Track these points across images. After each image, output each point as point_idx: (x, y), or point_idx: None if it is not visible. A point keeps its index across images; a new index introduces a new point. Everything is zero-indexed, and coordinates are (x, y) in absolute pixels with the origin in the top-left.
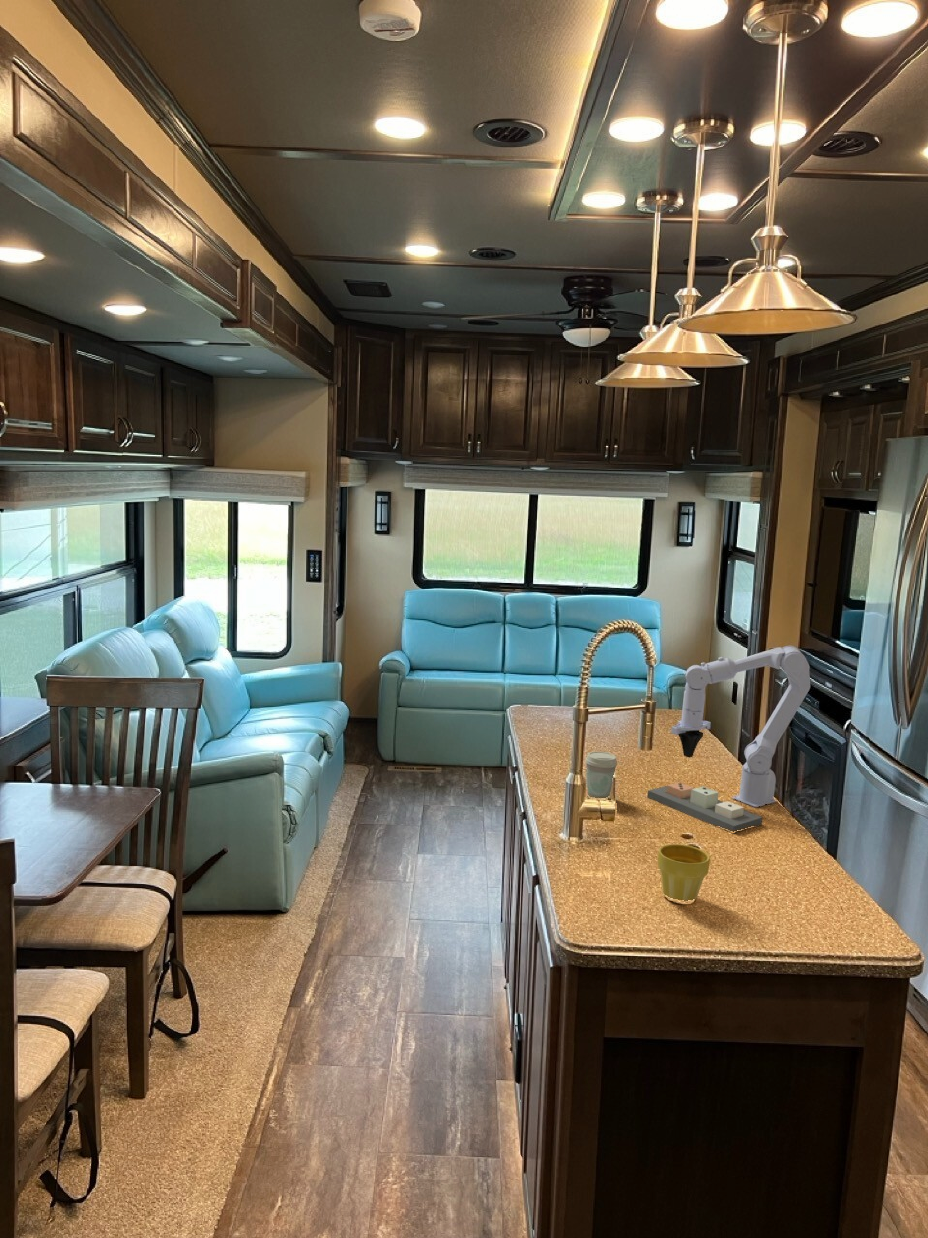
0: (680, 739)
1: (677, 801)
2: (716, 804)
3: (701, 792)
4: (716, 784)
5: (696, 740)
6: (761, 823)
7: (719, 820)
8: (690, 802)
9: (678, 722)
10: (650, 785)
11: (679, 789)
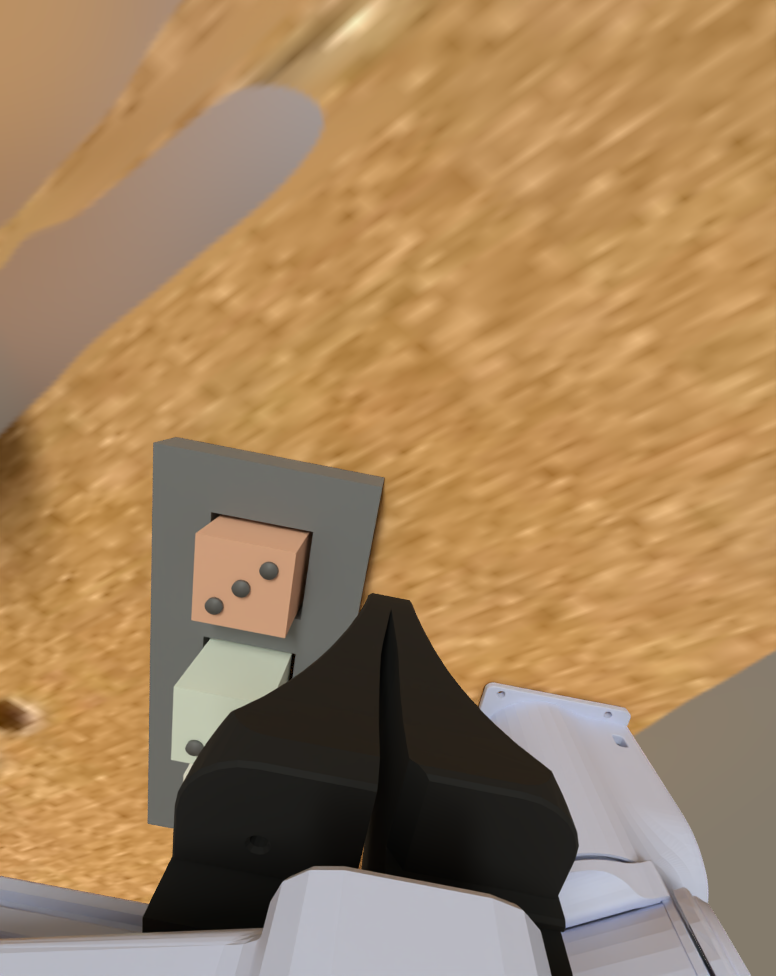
0: (297, 676)
1: (162, 605)
2: (185, 777)
3: (182, 731)
4: (634, 563)
5: (363, 868)
6: None
7: (149, 777)
8: (208, 643)
9: (259, 952)
10: (341, 348)
11: (197, 604)
